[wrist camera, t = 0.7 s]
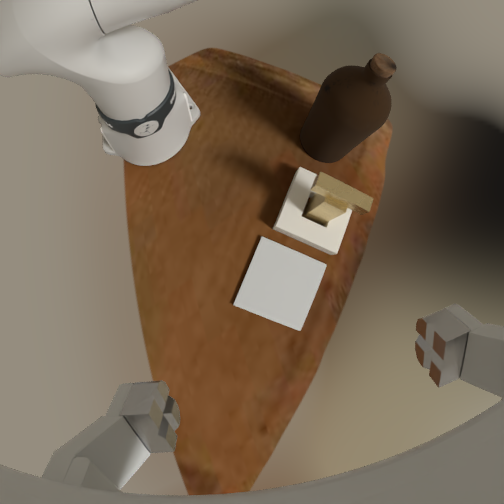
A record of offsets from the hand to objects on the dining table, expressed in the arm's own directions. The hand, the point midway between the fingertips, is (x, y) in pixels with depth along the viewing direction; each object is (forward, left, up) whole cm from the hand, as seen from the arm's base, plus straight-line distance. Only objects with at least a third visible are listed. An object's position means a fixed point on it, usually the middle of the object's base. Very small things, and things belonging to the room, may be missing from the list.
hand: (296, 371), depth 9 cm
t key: (-7, +18, -41) cm, 45 cm away
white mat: (+2, +8, -41) cm, 42 cm away
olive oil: (-19, +26, -42) cm, 52 cm away
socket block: (-7, +18, -41) cm, 45 cm away
